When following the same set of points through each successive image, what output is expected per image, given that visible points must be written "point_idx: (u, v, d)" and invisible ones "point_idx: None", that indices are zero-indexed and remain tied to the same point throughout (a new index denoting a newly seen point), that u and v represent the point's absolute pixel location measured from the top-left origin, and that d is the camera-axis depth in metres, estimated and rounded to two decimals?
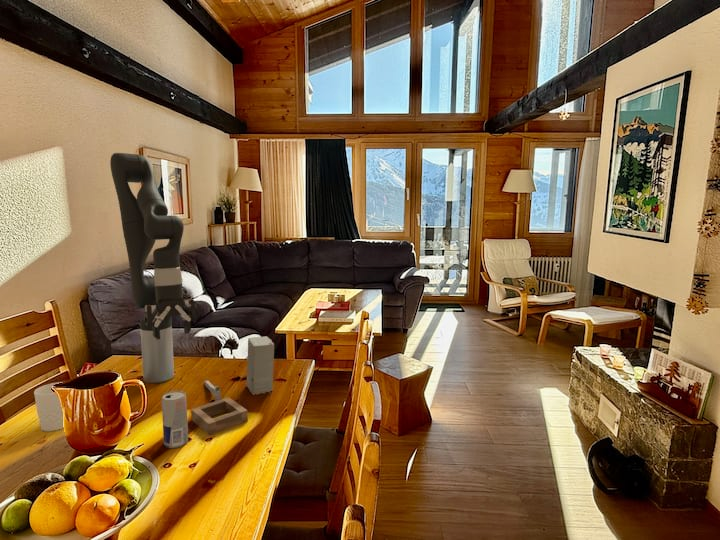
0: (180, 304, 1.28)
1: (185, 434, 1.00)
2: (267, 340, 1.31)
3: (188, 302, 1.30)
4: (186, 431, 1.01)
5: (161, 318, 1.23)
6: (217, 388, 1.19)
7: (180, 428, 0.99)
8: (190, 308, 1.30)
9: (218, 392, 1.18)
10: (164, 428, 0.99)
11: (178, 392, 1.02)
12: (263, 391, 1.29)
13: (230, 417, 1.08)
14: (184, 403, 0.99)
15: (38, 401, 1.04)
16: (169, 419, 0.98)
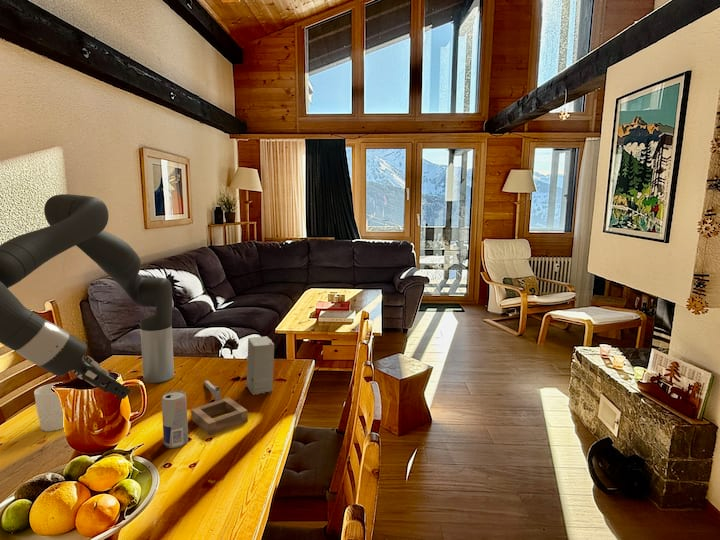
0: None
1: (185, 434, 1.00)
2: (267, 340, 1.31)
3: None
4: (186, 431, 1.01)
5: None
6: (217, 388, 1.19)
7: (180, 428, 0.99)
8: None
9: (218, 392, 1.18)
10: (164, 428, 0.99)
11: (178, 392, 1.02)
12: (263, 391, 1.29)
13: (230, 417, 1.08)
14: (184, 403, 0.99)
15: (38, 401, 1.04)
16: (169, 419, 0.98)
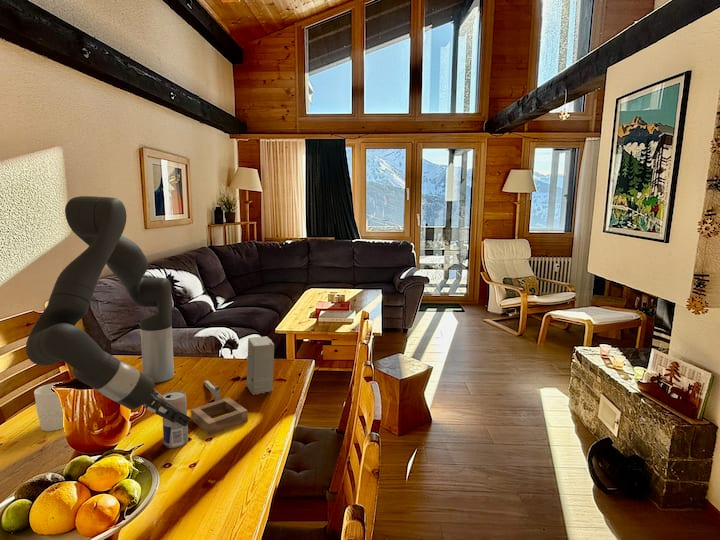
0: (149, 406, 0.94)
1: (185, 434, 1.00)
2: (267, 340, 1.31)
3: None
4: (186, 431, 1.01)
5: None
6: (217, 388, 1.19)
7: (180, 428, 0.99)
8: None
9: (218, 392, 1.18)
10: (163, 428, 0.99)
11: (178, 392, 1.02)
12: (263, 391, 1.29)
13: (230, 417, 1.08)
14: (184, 403, 0.99)
15: (38, 401, 1.04)
16: None
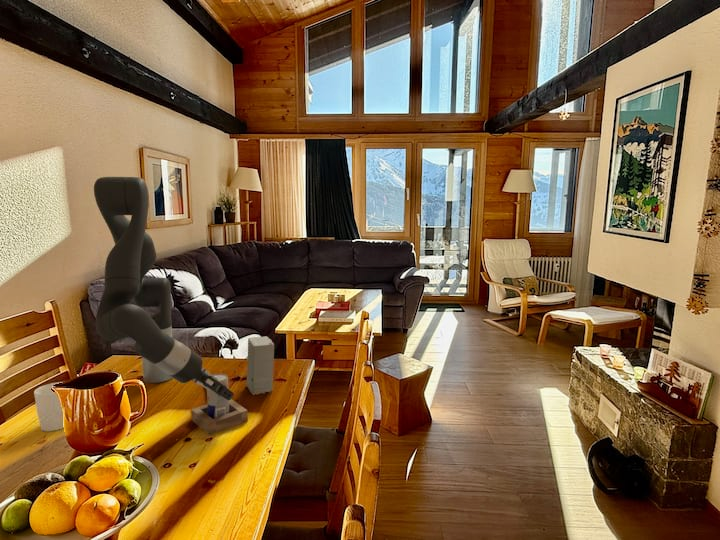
0: (199, 381, 1.04)
1: (227, 413, 1.11)
2: (267, 340, 1.31)
3: None
4: (228, 410, 1.11)
5: None
6: None
7: (223, 407, 1.10)
8: None
9: None
10: (208, 406, 1.09)
11: (221, 375, 1.12)
12: (263, 391, 1.29)
13: (230, 417, 1.08)
14: (227, 384, 1.10)
15: (38, 401, 1.04)
16: (214, 398, 1.08)
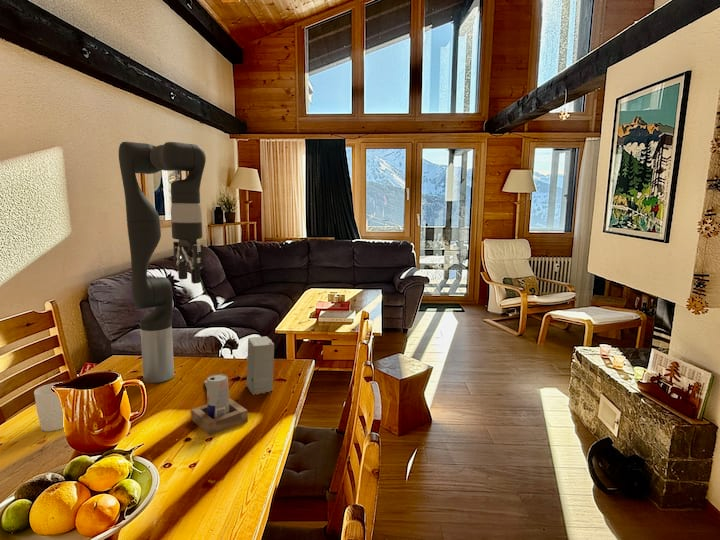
0: (187, 247, 1.10)
1: (227, 413, 1.11)
2: (267, 340, 1.31)
3: None
4: (228, 410, 1.11)
5: (177, 257, 1.15)
6: None
7: (223, 407, 1.10)
8: None
9: None
10: (208, 406, 1.09)
11: (221, 375, 1.12)
12: (263, 391, 1.29)
13: (230, 417, 1.08)
14: (226, 384, 1.10)
15: (38, 401, 1.04)
16: (214, 398, 1.08)
